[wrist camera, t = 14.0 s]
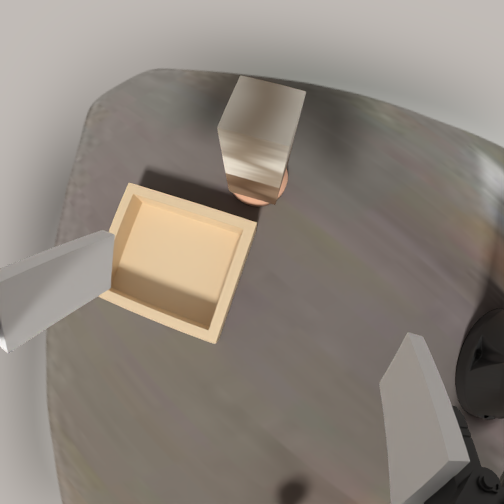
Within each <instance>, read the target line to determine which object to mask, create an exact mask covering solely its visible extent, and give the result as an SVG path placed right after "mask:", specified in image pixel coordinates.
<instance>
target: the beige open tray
mask: <svg viewBox="0 0 504 504" xmlns="http://www.w3.org/2000/svg"><path fill="white" fill-rule="evenodd" d="M256 229H257V223H256V222H253V221H250V220H247V219H244V218H241V217H238V216H235V215H232V214H229V213H226V212H223V211H219V210H216V209H213V208H210V207H207V206H204V205H201V204H197V203H194V202H191V201H188V200H185V199H181V198H178V197H175V196H172V195H168V194H165V193H162V192H159V191H155V190H152V189H149V188H145V187H142V186H139V185H135V184H132V183H129V184H128V186H127V188H126V190H125V193H124V195H123V197H122V200H121V202H120V205H119V207H118V209H117V212H116V214H115V217H114V219H113V222H112V225H111V227H110V230H109V233H112V234H115V238H114V249H113V260H112V274H111V288H110V289H109V290H107V291H106V292H104V293H102V294H101V295H99V297H101V298H103V299H105V300H107V301H110V302H112V303H114V304H116V305H118V306H121V307H123V308H125V309H128V310H130V311H132V312H134V313H137V314H139V315H142V316H144V317H146V318H149V319H151V320H154V321H156V322H158V323H161V324H163V325H166V326H168V327H171V328H174V329H176V330H179V331H181V332H184V333H186V334H189V335H192V336H194V337H197V338H200V339H203V340H205V341H208V342H211V343H214V344H216V343H217V341H218V340H219V338H220V335H221V332H222V330H223V327H224V324H225V321H226V318H227V315H228V312H229V309H230V306H231V303H232V300H233V297H234V294H235V292H236V289H237V286H238V283H239V280H240V277H241V274H242V271H243V268H244V265H245V262H246V260H247V257H248V254H249V251H250V248H251V245H252V242H253V239H254V236H255V233H256Z"/></svg>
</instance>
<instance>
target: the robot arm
mask: <svg viewBox="0 0 504 504" xmlns="http://www.w3.org/2000/svg"><path fill="white" fill-rule="evenodd" d="M114 238H115V234H112V233H109V232H106V231H104V230H101V231H98V232H95V233H92V234H89V235H87V236H84V237H81V238H78V239H75V240H73V241H70V242H67V243H64V244H62V245H59V246H56V247H54V248H51V249H48V250H46V251H43V252H40V253H38V254H36V255H33V256H30V257H28V258H25V259H23V260H20V261H18V262H15V263H13V264H10V265H8V266H6V267H3V268H0V347H1V348H2V349H4V350H5V351H6V352H7V353H10V352H12V351H13V350H15V349H16V348H18V347H19V346H21V345H22V344H23V343H25V342H27V341H28V340H29V339H31V338H33V337H34V336H36V335H37V334H39V333H40V332H42V331H43V330H45V329H47V328H48V327H50V326H51V325H53V324H54V323H56V322H57V321H59V320H61V319H62V318H64V317H65V316H67V315H68V314H70V313H72V312H73V311H75V310H76V309H78V308H80V307H81V306H83V305H84V304H86V303H88V302H89V301H91V300H92V299H94V298H96V297H97V296H99V295H101V294H102V293H104V292H106V291H107V290H109V289H110V288H111V274H112V260H113V249H114ZM379 386H380V392H381V399H382V407H383V415H384V423H385V432H386V441H387V452H388V464H389V478H390V496H391V504H423V503H424V504H504V472H503V474H502V476H501V477H500V479H499V478H498V477H497V475H496V474H495V473H494V472H493V471H492V470H490V469H488V468H484V467H481V465H480V461H479V458H478V455H477V452H476V449H475V446H474V443H473V440H472V438H470V437H471V434H470V432H469V429H467V428H468V426H467V423H466V421H465V418H464V416H463V415H462V413H461V412H460V411H459V410H458V408H457V407H456V406H452V405H451V403H450V400H449V397H448V395H447V392H446V389H445V387H444V384H443V382H442V379H441V377H440V375H439V372H438V370H437V367H436V365H435V363H434V360H433V358H432V356H431V353H430V351H429V349H428V347H427V344H426V342H425V340H424V338H423V336H420V335H416V334H413V333H409V332H407V334H406V336H405V338H404V340H403V342H402V344H401V346H400V348H399V349H398V351H397V353H396V355H395V357H394V358H393V360H392V362H391V364H390V366H389V367H388V369H387V371H386V373H385V374H384V376H383V378H382V379H381V381H380V383H379ZM456 391H457V396H458V399H459V402H460V404H461V406H462V407H463V408H464V410H465V411H466V412H468V413H469V414H471V415H474V416H476V417H478V418H481V419H495V418H504V309H495V310H492V311H490V312H488V313H487V314H485V315H484V316H483V317H482V318H480V319H479V321H478V322H477V323H476V324H475V325H474V327H473V328H472V329H471V331H470V333H469V334H468V336H467V338H466V340H465V342H464V345H463V347H462V350H461V353H460V356H459V360H458V364H457V371H456Z"/></svg>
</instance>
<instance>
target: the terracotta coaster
mask: <svg viewBox="0 0 504 504" xmlns="http://www.w3.org/2000/svg"><path fill="white" fill-rule="evenodd" d="M287 180H288V172H287V168H286V171H285V174H284V177H283V181H282V184H281V187H280V191H279V194H278V197H277V199H279V198H280V196H281V195H282V194H283V192H284V190H285V187H286V184H287ZM232 193H233V192H232ZM233 194H234V196H235V197H236V198H237V199H238V200H240V201H241V202H243V203H245V204H247V205H250V206H266V205H269V204H271V203H267V202H264V201H261V200H257V199H254V198H250V197H247V196H244V195H240V194H237V193H233Z"/></svg>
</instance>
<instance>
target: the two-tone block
mask: <svg viewBox="0 0 504 504" xmlns="http://www.w3.org/2000/svg"><path fill="white" fill-rule="evenodd" d="M305 95H306V91H302V90H299V89H295V88H291V87H288V86H284V85H280V84H276V83H272V82H268V81H264V80H259V79H255V78H250V77H246V76H241V75H240V77H239V79H238V82H237V84H236V86H235V88H234V90H233V93H232V95H231V97H230V99H229V101H228V104H227V106H226V108H225V111H224V113H223V115H222V117H221V120H220V122H219V124H218V127H217V130H218V135H219V140H220V146H221V151H222V156H223V161H224V167H225V172H226V177H227V182H228V187H229V192H233V193H237V194H240V195H244V196H247V197H250V198H254V199H257V200H261V201H264V202H267V203H271V204H274V205H275V204H276V201H277V197H278V194H279V191H280V187H281V184H282V181H283V177H284V174H285V171H286V168H287V164H288V161H289V157H290V153H291V149H292V145H293V141H294V138H295V134H296V130H297V126H298V122H299V118H300V114H301V110H302V107H303V103H304V99H305Z"/></svg>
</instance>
